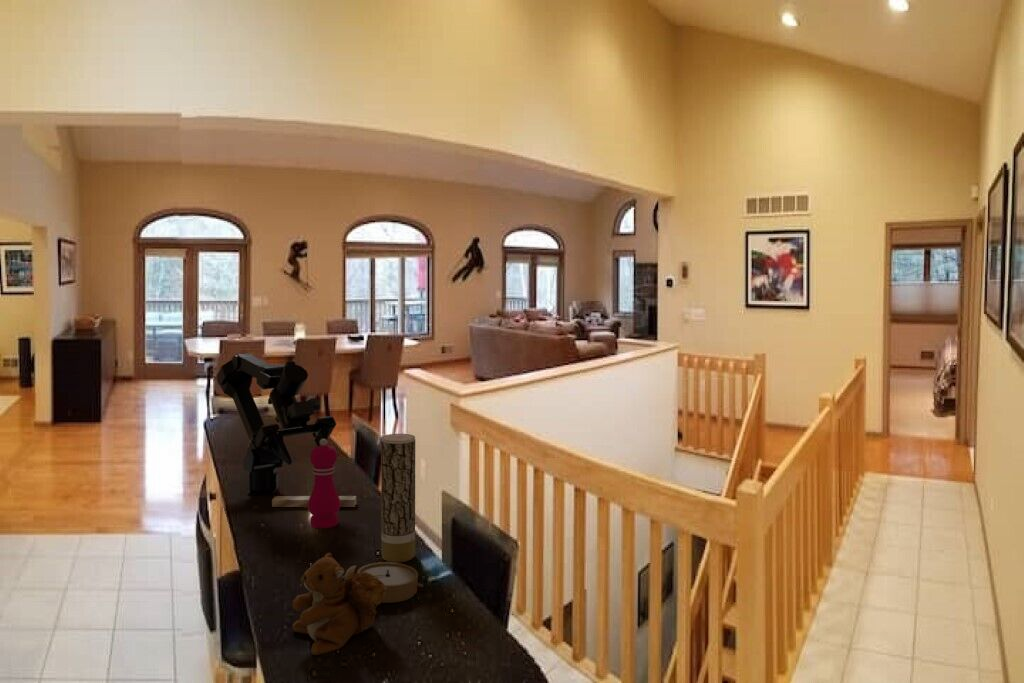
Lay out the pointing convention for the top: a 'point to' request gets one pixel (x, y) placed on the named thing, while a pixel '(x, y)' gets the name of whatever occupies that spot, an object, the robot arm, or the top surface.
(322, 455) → the pepper mill
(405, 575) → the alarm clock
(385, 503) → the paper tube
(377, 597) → the stuffed squirrel
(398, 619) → the top surface
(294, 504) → the flat beige strip
